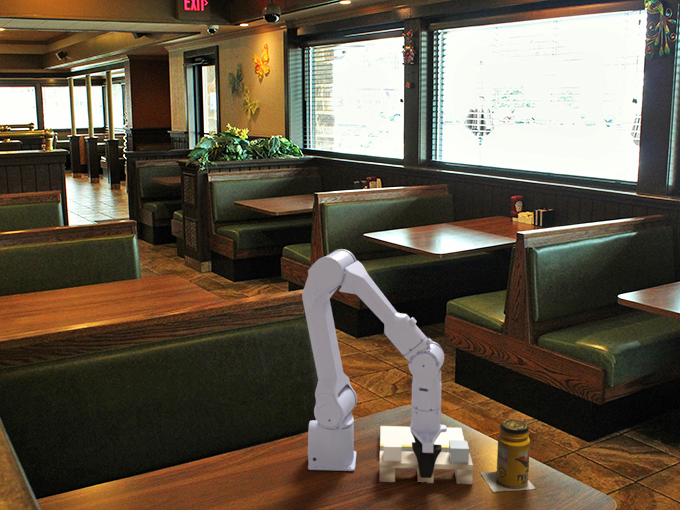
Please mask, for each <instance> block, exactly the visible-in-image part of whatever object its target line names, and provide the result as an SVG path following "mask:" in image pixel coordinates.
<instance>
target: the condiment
mask: <svg viewBox="0 0 680 510" xmlns="http://www.w3.org/2000/svg"><path fill="white" fill-rule="evenodd" d="M529 430H530V429H529V426H528V424H527V423H526V422H525V421H523V420H518V419H505V420H503V421H502V422H501V423H500V429H499V434H498V437H497V455H496V457H497V458H496V471H483V472H480V475H481V476H482V477H483V479H484V481H485V482H486V484H487V486H488V487H489V488H490V490H492V492H493V493H496V492H497V493H498V492H505V491H506V492H508V491H511V492H513V491H516V492H517V491H527V490H535V489H536V487H535V486H534V485H533V483H532V482H531V481H530V480H529V471H530V469H529V468H530V467H529V466H530V448H531V447H530V446H531V440H530V437H529Z"/></svg>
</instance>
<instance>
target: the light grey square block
mask: <svg viewBox="0 0 680 510" xmlns="http://www.w3.org/2000/svg"><path fill="white" fill-rule="evenodd" d="M469 453H470V447H469V443H468V441H467V440H464V441H460V440H449V458H450V463H469Z"/></svg>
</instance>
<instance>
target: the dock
mask: <svg viewBox="0 0 680 510" xmlns="http://www.w3.org/2000/svg"><path fill="white" fill-rule="evenodd" d="M446 427H447V426H446ZM379 431H380V434H379V452H380V451H384V439H401V445H402V451H408V452H414V451H413V449H412V442H415V440H414V437H413V435H412V433H411V430H410V426H403V425H402V426H401V425H400V426H399V425H396V426H395V425H380V430H379ZM463 433H464V432H463V429H462V427H449V426H448V427H447V431H446V432H441V433H440V435H439V436H438V438H437V439H436V441H435V442H434V445H441V447H442V450H441V452H449V440H460V441H465V437H464V434H463Z"/></svg>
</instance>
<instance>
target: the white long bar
mask: <svg viewBox="0 0 680 510" xmlns="http://www.w3.org/2000/svg"><path fill="white" fill-rule="evenodd" d="M396 469H416V474H417V483H418V482H422V483H421V484H424V483H423V482H427V483H426V484H434V481H435V479H434V475H435V473H434V472H435V470H454V471H453V472H454V476H455V482H456V484H457V485H473V479H474V478H473V475H474V473H473V472H474V463H473V459H472V456H471V453H470V452H469V463H450V458H449V452H440V454H439V455H438V457H437V459H436V462H435V465H434V470H433V474H432V477H431V478H421V476H420V473H419V466H418V461H417V458H416V455H415V453H414V452H408V451H402V455H401V461H384V451H380V450H379V482H381V483H384V482H385V483H387V482H388V483H395V482H396ZM461 483H462V484H461Z"/></svg>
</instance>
